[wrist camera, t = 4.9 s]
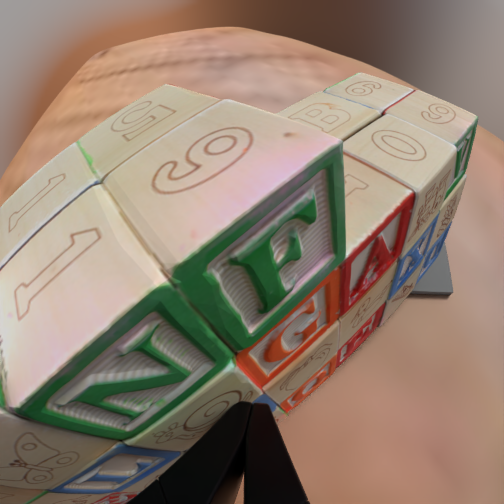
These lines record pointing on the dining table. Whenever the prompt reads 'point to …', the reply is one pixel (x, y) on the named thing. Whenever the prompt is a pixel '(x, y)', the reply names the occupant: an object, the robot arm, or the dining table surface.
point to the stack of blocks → (207, 271)
